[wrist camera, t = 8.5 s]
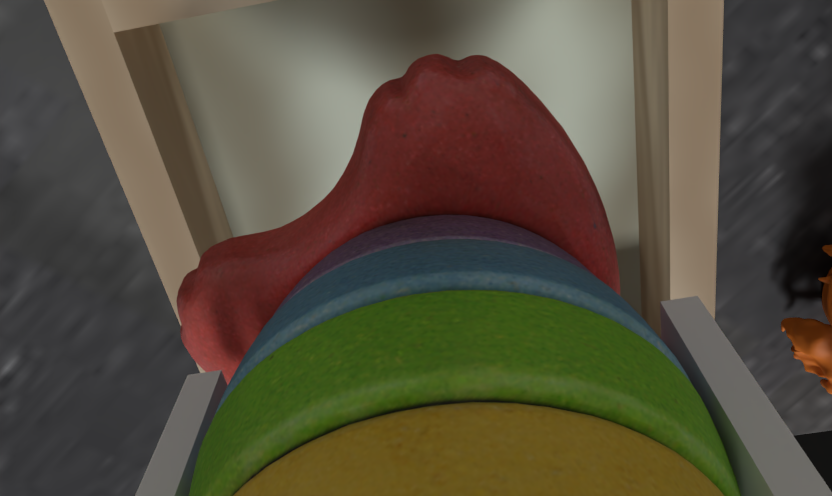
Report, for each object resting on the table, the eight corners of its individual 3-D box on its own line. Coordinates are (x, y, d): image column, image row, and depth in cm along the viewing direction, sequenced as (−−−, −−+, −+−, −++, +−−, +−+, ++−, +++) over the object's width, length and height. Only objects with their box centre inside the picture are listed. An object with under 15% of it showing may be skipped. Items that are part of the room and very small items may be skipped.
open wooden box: (261, 393, 31) (241, 469, 27) (103, -35, 22) (38, -15, 18) (671, 329, 29) (712, 400, 25) (667, -150, 21) (728, -156, 17)
